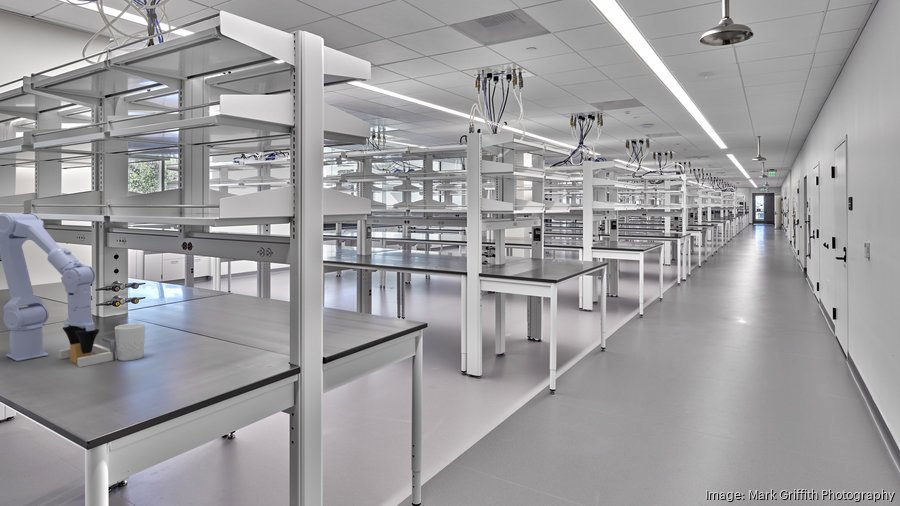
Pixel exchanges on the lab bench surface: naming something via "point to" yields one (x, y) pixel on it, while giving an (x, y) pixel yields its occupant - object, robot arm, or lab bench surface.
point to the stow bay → (101, 353)
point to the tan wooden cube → (77, 352)
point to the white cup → (130, 341)
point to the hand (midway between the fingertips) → (81, 350)
